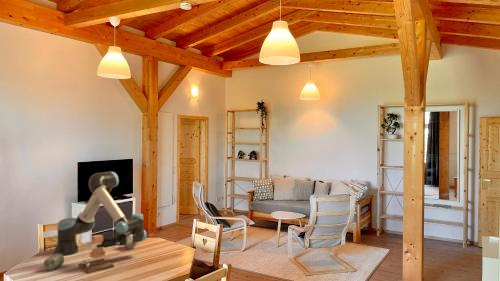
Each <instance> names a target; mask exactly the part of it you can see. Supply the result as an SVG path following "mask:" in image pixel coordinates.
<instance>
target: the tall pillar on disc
mask: <svg viewBox="0 0 500 281" xmlns="http://www.w3.org/2000/svg"><path fill="white" fill-rule="evenodd" d="M91 238H92V239H91V242H92V245H93V244H98V243H102V242H103V239H104V235H102V234H95V235H92V237H91ZM105 256H106V251H104V247H100V248H96V249H91V252H90V253H89V257H90V258H93V259H95V258H96V259H97V258H103V257H105Z"/></svg>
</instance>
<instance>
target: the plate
mask: <svg viewBox="0 0 500 281" xmlns="http://www.w3.org/2000/svg"><path fill="white" fill-rule="evenodd" d="M86 263H90V268H89V269H86V266H82V262H81V263H78V268H80V269H82V270H83V271H84V272H85V273H87V274H91V273H96V272H99V271H100V272H101V271H105V270H108V269H112V268H114V267H115V264H113V263H112V262H110V261H108V260H107V259H105V258H99V259H95V260H90V261H86Z"/></svg>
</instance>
